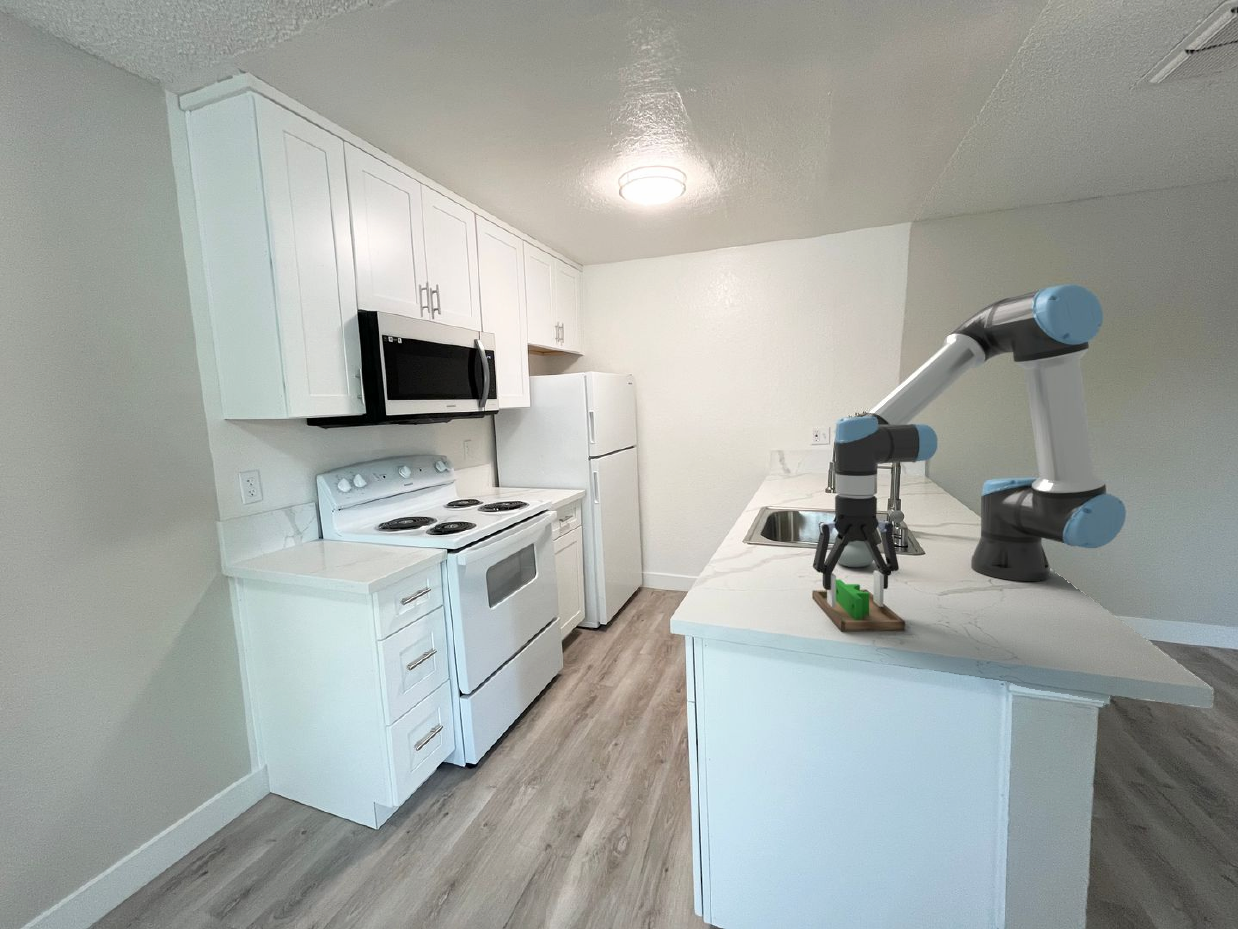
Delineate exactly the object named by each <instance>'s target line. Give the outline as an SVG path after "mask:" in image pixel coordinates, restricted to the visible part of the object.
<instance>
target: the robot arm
mask: <svg viewBox="0 0 1238 929" xmlns="http://www.w3.org/2000/svg"><path fill="white" fill-rule="evenodd" d="M1103 321H1104V312H1103V307H1102V305H1101V301H1099V299H1098V297H1097V296H1096V295H1095V294H1094V292H1092V290H1088V289H1087V288H1086V287H1084V286H1082V285H1080V284H1079V285H1078V284H1073V283H1071V284H1070V283H1069V284H1068V283H1067V284H1062V285H1055V286H1047V287H1045V288H1042V289H1040V290H1035V291H1032V292H1027V293H1024V294H1019V295H1017V296H1012V297H1008V298H1004V299H1000V300H997V301H994V302H993V303H990V304H988V305H987V306H985V307H983V308H982V309H980V310H978V311H977V312H975V313H974V314H973V315H971V316H970V317H969V318H968V319H966V321H964V322H962V324H960V325H959V326H958V327H957V328H955V330H953V331H951V333H950V334H949V335H947V337H945V338H944V341H943V344H942V347H941V348H940V349H938V350H937V351H936V352H935V353H934V354H932V355H931V357H929V358H928V359H927V360H926V361H925V362H924V363H923V364H921V365H920V366H919V367H918V368H917V369H916V370H915V371H914V372H913V373H911V374H910V375H908V377H906V379H904V380H903V381H902V382H901V383H900V384H899V385H898V386H897V387H896V388H894V389H893V390H892V391H891V392H890V393H889V394H887V395H886V396H885V397H884V398H883V399H882V400H880V401H879V402H878V403H877V404H876V405H875V406H874V407H873V408H871V410H869V411H868V412H867V413H866V414H864V416H851V417H849V416H848V417H847V416H845V417H840V418H839V419H838V420H837V421H836V425H835V432H834V433H835V436H834V444H835V446H834V447H835V448H834V449H835V450H834V451H835V454H834V455H835V465H834V467H835V468H834V469H835V472H834V474H835V475H834V476H835V477H834V481H835V483H834V487H835V489H834V490H835V493H836V495H835V497H834V513H835V514H834V515H835V516H834V517H833V518H834V519H833V520H832V521H831V522H823V521H820V522H819V523H818V530H819V535H818V539H817V545H816V549H815V554H814V559H813V564H812V568H813V569H814V570H815V571H816V572H817V573H820V574H822V588H823V590H827V602H828V604H829V605H830V606H831V607H836V580H837V575H835V574H834V573H833V571H834V570H835V568H836V566H837V564H838V560H839V558H840V556H841V554H842V552H843V550H844V548H845V547H846V546H847V545H848V543H849V542H854V541H861V542H865V544H866V546H867V548H868V550H869V552H870V554H871V556H872V558H873V560H874V561H873V563H874V564H875V566H876V568H877V570H873V595H874V599H873V601H874V602H875V603H876V604H877V605H878V606H879V607H883V604H884V590H888V587H889V576H891V575H892V572H897V571H899V569H900V567H899V562H898V557H897V553H896V549H895V548H896V547H895V541H894V538H893V532H894V524H893V523H892V522H890V521H888V520H884V519H883V520H881V521H880V520H878V519H877V514H878V511H877V510H878V498H877V497H876V496H875V495H877V493H878V465H880V464H881V465H882V464H883V465H884V464H891V463H892V464H897V463H898V464H899V463H913V464H914V463H917V462H924V461H925V462H926V461H928V460H930V459H931V458H933V456H935V454H936V452H937V450H938V436H937V433H936V431H935V430H934V429H933V428H932V427H931V426H930V425H928V424H926V423H925V424H924V423H921V424H919V423H918V424H917V423H910V422H911V421H913V419H914V418H916V417H917V416H918V415H919V414H920V413H921V412H922V411H923V410H925V409H926V408H927V407H928V406H929V405H930V404H931V403H933V402H934V401H935V400H936V399H938V397H939V396H940V395H942V394H943V393H944V392H945V391H947V389H949V388H950V387H951V386H952V385H953V384H954V383H955V382H957V381H958V380H959V379H960V378H961V377H962V376H964V375H965V373H967V372H968V371H969V370H970V369H977V368H979V367H981V366H982V365H983V364H984V363H985V362H987V361H988V360H990V359H992V358H994V357H996V356H1000V355H1002V354H1007V353H1012V355H1013V356H1012V357H1013V362H1014V364H1015V365H1017V366H1020V367H1021V368H1022V369H1024V373H1025V383H1026V389H1027V395H1028V405H1029V411H1030V417H1031V424H1032V432H1033V439H1034V446H1035V452H1036V454H1035V456H1036V460H1037V469H1038V475H1039V476H1038V477H1012V478H1011V477H1008V478H993V479H988V480H986V481H985V482H984V483H983V486H982V493H981V497H980V499H981V504H980V505H981V507H980V508H981V509H980V510H981V511H980V512H981V513H980V537H979V541H978V543H977V545H976V547H975V549H974V552H973V555H972V556H971V559H970V560H971V561H970V562H971V563H970V568H971V569H972V570H974V571H976V572H977V573H979V574H982V575H986V576H989V577H993V578H996V579H997V578H999V579H1003V580H1009V581H1016V582H1018V581H1019V582H1041V581H1040V580H1042V581H1046V580H1048V579H1050V578H1051V577H1050V576H1051V567H1050V566H1051V565H1050V564H1049V561H1048V559H1047V556H1046V553H1045V549H1044V547H1043V545H1042V544H1043V543H1042V542H1043V541H1042V540H1043V539H1045V540H1049V541H1052V542H1056V543H1061V544H1064V545H1065V544H1066V545H1067V546H1070V547H1078V548H1079V547H1080V548H1085V549H1098V548H1102V547H1104V546H1106V545H1108V544H1109V543H1111V542H1112V541H1113V540H1115V538H1116V537H1118V534H1119V533H1121V530H1123V527H1124V525H1125V522H1126V517H1127V516H1126V515H1127V511H1126V506H1125V504H1124V502H1123V500H1122V499H1121V500H1120V497H1117V496H1115V495H1113V494H1111V493H1108V492H1107V485H1106V480H1105V479H1104V478H1102V477H1101V476H1099V475H1097V474H1096V473H1095V471H1094V465H1093V464H1094V463H1093V457H1092V456H1093V454H1092V449H1091V440H1090V433H1089V432H1090V431H1089V424H1088V417H1087V407H1086V400H1085V399H1086V398H1085V392H1084V383H1083V375H1082V368H1081V361H1080V360H1081V359H1082V357H1083V356H1084V355H1085V354H1086V353H1087V352H1088V351H1089V350H1090V346H1089V341H1091V340H1093V339H1094V338H1095V337H1096V336H1097V335H1098V333H1099V332H1100V330H1101V329H1100V327H1101V326H1102V325H1103ZM909 423H910V424H909ZM877 528H878V531H879V532H880V533H879V534H880V538H881V542H882V547H883V552H884V557H883V555H882V553H881V551H880V549H879V547H878V545H877V541H876V539H875V537H874V535H873V534H874V533H875V531H876V529H877ZM834 529H835V530H836V531H837V534H836V536H835V539H834V543H833V545H832V547H831V549H830V551H829V553H828V555H827V552H828V549H829V548H828V547H829V545H830V544H829V543H830V540H831V539H830V538H831V534H832V533H833V530H834ZM884 558H885V559H884ZM1047 578H1048V579H1047ZM1045 579H1046V580H1045Z"/></svg>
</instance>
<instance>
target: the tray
mask: <svg viewBox="0 0 1238 929" xmlns="http://www.w3.org/2000/svg"><path fill="white" fill-rule="evenodd" d="M811 591H812V593H811V594H812V600H813V601H814V603H816V604H817V605H818V607H819V608H820V609H821V610H822V611H823V613H825V616H827V618H829V619H830V621H831V622H832V623H833V624H834V625H835V626H836V628H837V629H838V630H839V631H840V632H904V631H906V620H904V619H903V618H901V616H899V615H898V614H897V613H895V612H894V611H893V610H892V609H891V608H889V607H888V605H886V604H885V603H883V607H879V606H878V605H877V604H876V603H875V602H874V601H873V599H874V593H873V594H872V592H870V591H869V590H868V589H860V591H862V592H868V593H869V615H862V620H854V619H853V618H852V617H851V616H850V615H849V614H848V613H847V612H846V611H845V610H844V608H843V607H842V606H841V605H840V604H839V603H838V602H837V601H836V607H831V606H830V605H829V604H828V602H827V590H825V589H822V590H818V589H817V590H814V589H813V590H811Z"/></svg>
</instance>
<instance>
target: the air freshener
mask: <svg viewBox="0 0 1238 929" xmlns="http://www.w3.org/2000/svg"><path fill="white" fill-rule="evenodd" d="M872 563H874V560H873V558H872V556H871V554H870V552H869V550H868V548H867V546H866V544H865V542H861V541H854V542H849V543H848V545H847V546H846V547H845V548H844V550H843V552H842V554H841V556H840V558H839V560H838V562H837V564H840V565H841V566H844V567H847V566H848V568H864V567H867V566H869V565H871V564H872Z"/></svg>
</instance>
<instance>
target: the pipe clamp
mask: <svg viewBox="0 0 1238 929" xmlns="http://www.w3.org/2000/svg"><path fill="white" fill-rule="evenodd" d="M860 590H861V585H860V584H859V583H853V584H852V583H850V584H849V583H848V584H847V583H845V582H844V581H843V580H841V579H836V601H837V602H838V603H839V604H840V605H841V606H842V607H843V608H844V610H845V611H846V612H847V613H848V614H849V615H850V616H851V617H852V618H853V619H854V620H862V615H869V593H868V592H862V591H860Z"/></svg>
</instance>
